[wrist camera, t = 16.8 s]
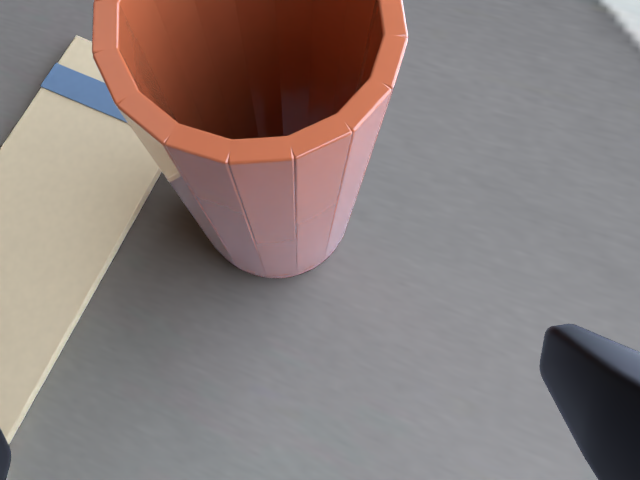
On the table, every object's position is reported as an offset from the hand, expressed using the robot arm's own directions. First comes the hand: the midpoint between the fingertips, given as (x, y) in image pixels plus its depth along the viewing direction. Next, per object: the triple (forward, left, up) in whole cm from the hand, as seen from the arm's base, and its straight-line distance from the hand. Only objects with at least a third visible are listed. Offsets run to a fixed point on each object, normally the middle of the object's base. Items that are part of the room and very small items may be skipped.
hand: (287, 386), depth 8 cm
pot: (+7, +4, -13) cm, 15 cm away
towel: (-1, +13, -13) cm, 18 cm away
